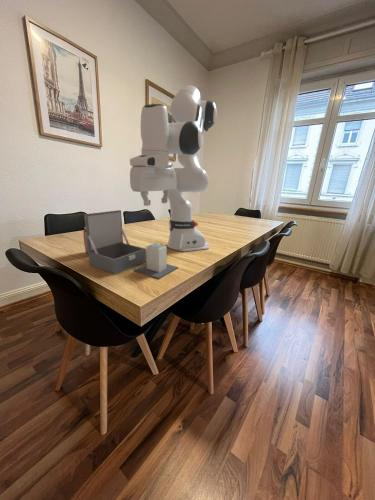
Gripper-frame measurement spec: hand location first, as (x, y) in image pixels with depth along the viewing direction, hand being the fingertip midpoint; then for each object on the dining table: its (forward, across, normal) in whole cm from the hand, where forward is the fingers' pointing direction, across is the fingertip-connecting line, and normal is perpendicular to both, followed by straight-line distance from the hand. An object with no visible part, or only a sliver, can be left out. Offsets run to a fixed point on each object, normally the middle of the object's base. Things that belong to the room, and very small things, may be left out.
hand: (156, 204), depth 73 cm
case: (+25, +5, -16) cm, 30 cm away
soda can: (+25, +3, -35) cm, 43 cm away
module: (+24, +1, 0) cm, 25 cm away
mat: (+25, +1, 0) cm, 25 cm away
